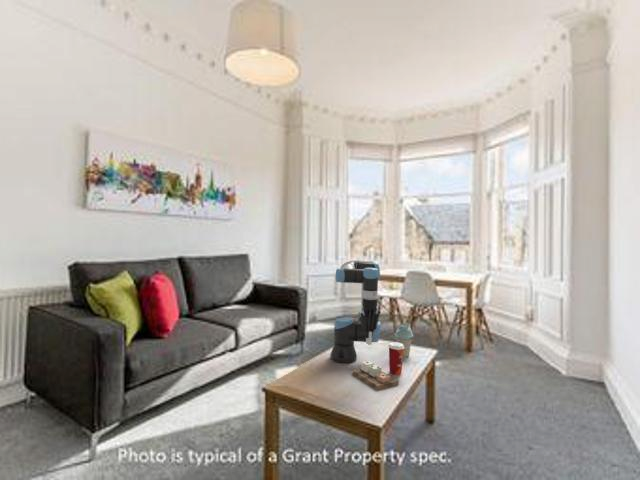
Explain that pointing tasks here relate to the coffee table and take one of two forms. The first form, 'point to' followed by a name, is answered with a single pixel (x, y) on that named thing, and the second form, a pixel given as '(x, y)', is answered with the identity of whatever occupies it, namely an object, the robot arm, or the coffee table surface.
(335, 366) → the coffee table surface
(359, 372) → the tile board
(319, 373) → the coffee table surface
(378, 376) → the tile three
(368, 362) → the tile one
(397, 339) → the ice cream cone
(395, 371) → the coffee cup
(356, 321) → the robot arm
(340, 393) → the coffee table surface
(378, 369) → the tile two
